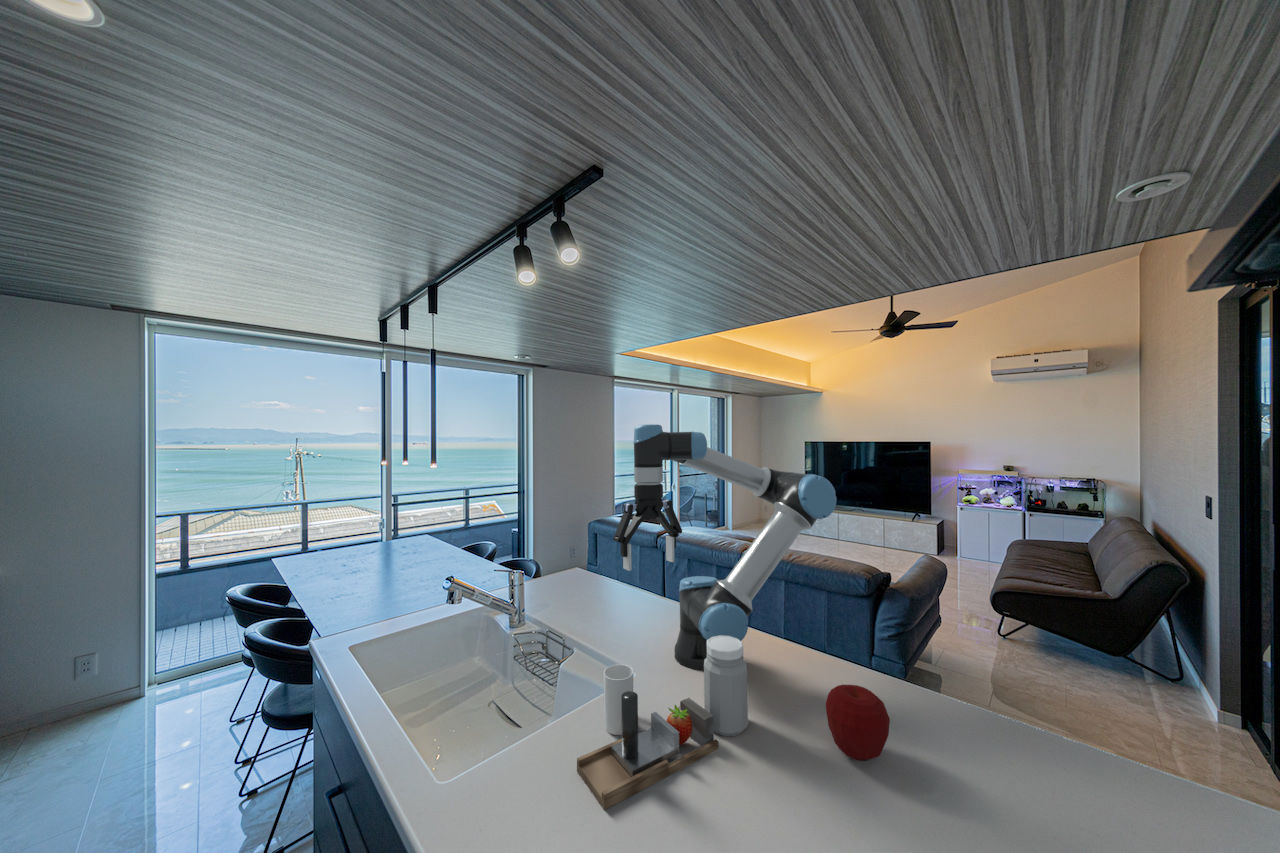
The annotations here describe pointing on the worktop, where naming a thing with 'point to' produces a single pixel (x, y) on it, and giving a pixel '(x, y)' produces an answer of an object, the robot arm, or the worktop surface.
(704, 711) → the base
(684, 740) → the fruit
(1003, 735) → the worktop surface
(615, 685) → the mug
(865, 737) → the apple
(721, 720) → the jar
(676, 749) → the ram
